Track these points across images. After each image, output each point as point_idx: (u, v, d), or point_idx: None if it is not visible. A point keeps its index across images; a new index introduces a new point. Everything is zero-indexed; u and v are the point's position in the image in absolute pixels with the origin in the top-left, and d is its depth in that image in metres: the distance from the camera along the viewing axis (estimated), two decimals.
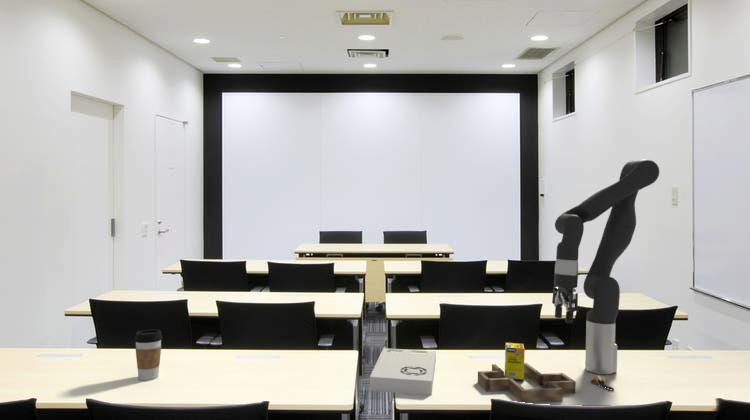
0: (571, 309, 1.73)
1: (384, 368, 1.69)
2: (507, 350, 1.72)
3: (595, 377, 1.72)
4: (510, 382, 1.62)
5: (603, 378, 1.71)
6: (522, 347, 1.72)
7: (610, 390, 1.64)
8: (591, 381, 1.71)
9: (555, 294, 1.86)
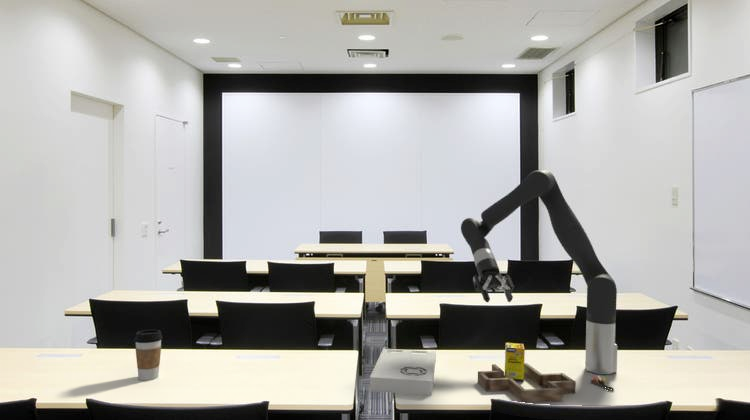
0: (476, 290, 1.87)
1: (384, 368, 1.69)
2: (507, 350, 1.72)
3: (595, 377, 1.72)
4: (510, 382, 1.62)
5: (603, 378, 1.71)
6: (522, 347, 1.72)
7: (610, 390, 1.64)
8: (591, 381, 1.71)
9: (506, 283, 1.92)
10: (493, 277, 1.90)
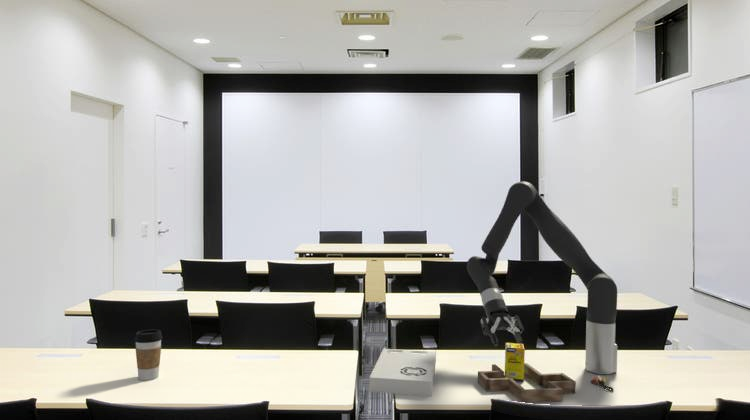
0: (484, 333, 1.81)
1: (384, 369, 1.69)
2: (507, 350, 1.72)
3: (595, 377, 1.72)
4: (510, 382, 1.62)
5: (603, 378, 1.71)
6: (522, 347, 1.72)
7: (610, 390, 1.64)
8: (591, 381, 1.71)
9: (515, 324, 1.86)
10: (502, 319, 1.84)
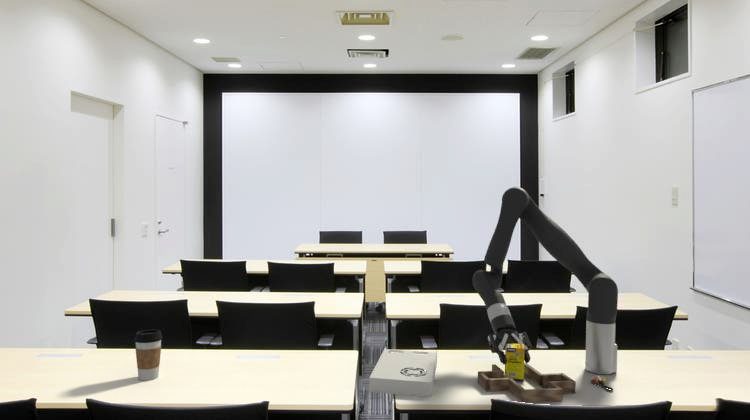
0: (491, 351, 1.75)
1: (384, 369, 1.68)
2: (507, 350, 1.72)
3: (595, 377, 1.71)
4: (510, 382, 1.62)
5: (603, 378, 1.71)
6: (522, 347, 1.72)
7: (609, 390, 1.64)
8: (591, 381, 1.71)
9: (523, 341, 1.80)
10: (509, 335, 1.78)
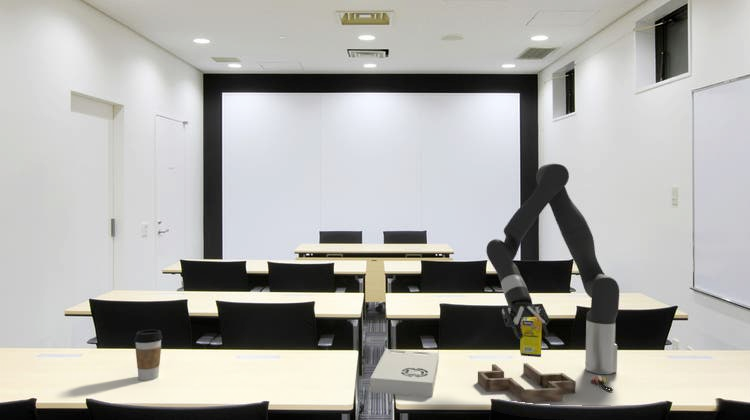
0: (506, 324, 1.63)
1: (385, 369, 1.68)
2: (523, 323, 1.60)
3: (595, 377, 1.71)
4: (510, 382, 1.62)
5: (603, 378, 1.70)
6: (539, 320, 1.60)
7: (609, 390, 1.63)
8: (591, 381, 1.71)
9: (540, 315, 1.68)
10: (525, 308, 1.66)
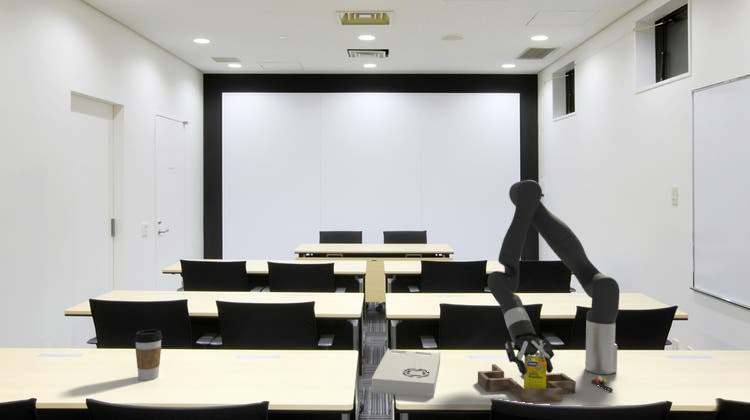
0: (509, 360, 1.60)
1: (386, 370, 1.68)
2: (527, 364, 1.57)
3: (595, 377, 1.71)
4: (510, 382, 1.62)
5: (604, 379, 1.70)
6: (544, 360, 1.58)
7: (608, 390, 1.63)
8: (591, 381, 1.71)
9: (544, 349, 1.65)
10: (529, 343, 1.64)
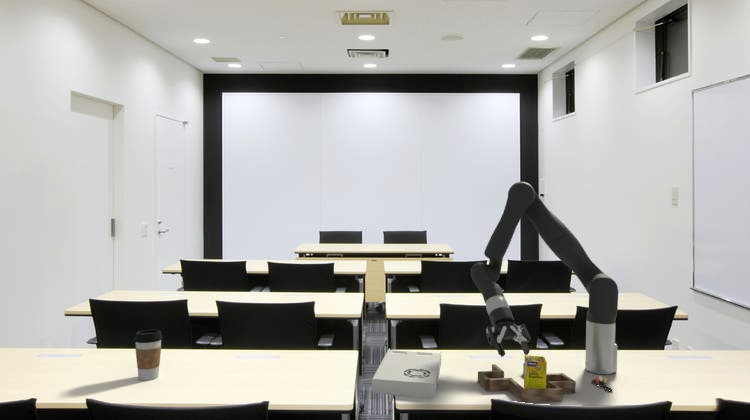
0: (489, 343, 1.74)
1: (387, 370, 1.67)
2: (527, 364, 1.57)
3: (596, 378, 1.71)
4: (510, 382, 1.62)
5: (604, 379, 1.70)
6: (544, 360, 1.58)
7: (608, 391, 1.63)
8: (592, 381, 1.71)
9: (522, 333, 1.79)
10: (508, 328, 1.77)
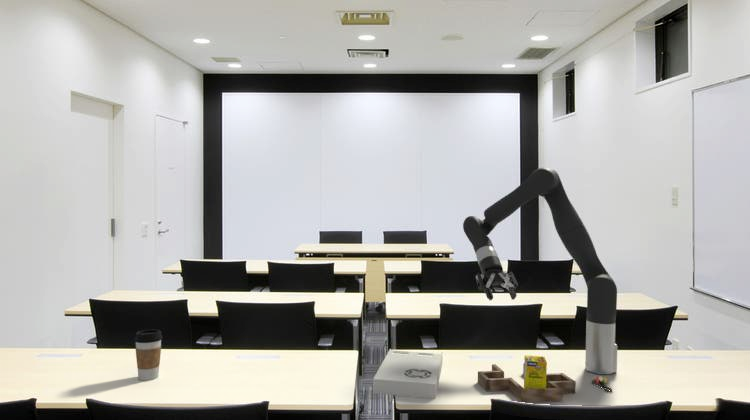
0: (479, 288, 1.84)
1: (388, 370, 1.67)
2: (527, 364, 1.57)
3: (596, 378, 1.71)
4: (510, 382, 1.62)
5: (604, 379, 1.70)
6: (544, 360, 1.58)
7: (608, 391, 1.63)
8: (592, 381, 1.71)
9: (509, 280, 1.89)
10: (496, 275, 1.88)
